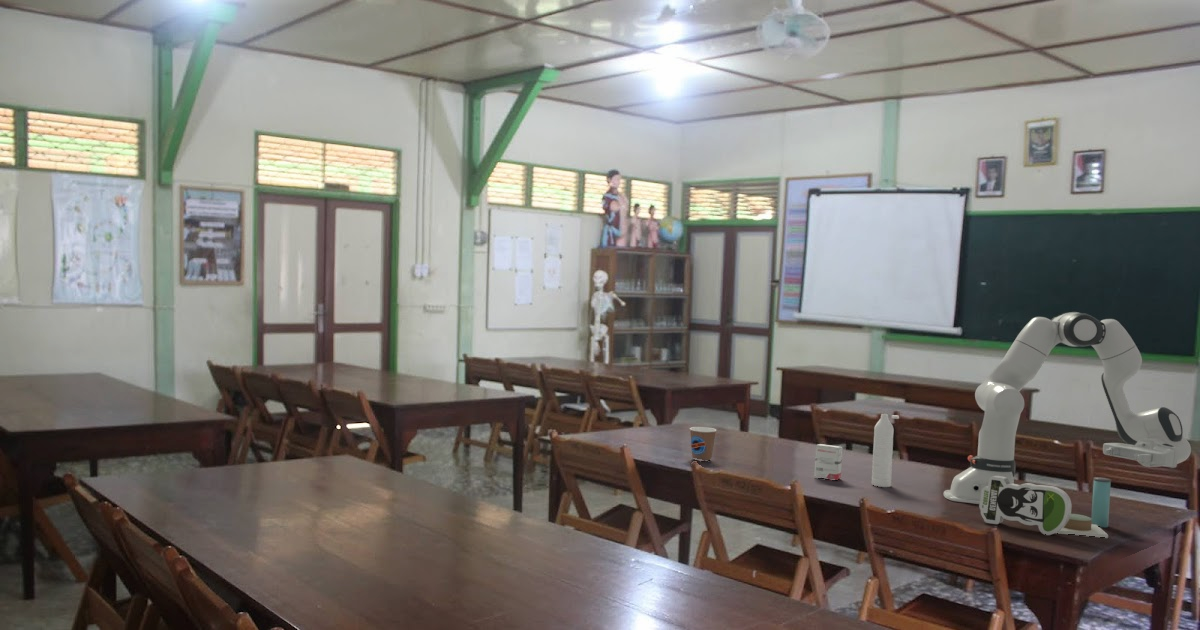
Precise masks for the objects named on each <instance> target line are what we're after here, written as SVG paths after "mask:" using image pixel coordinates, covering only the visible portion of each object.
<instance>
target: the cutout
mask: <svg viewBox="0 0 1200 630" xmlns="http://www.w3.org/2000/svg"><path fill="white" fill-rule="evenodd" d="M978 507H979V510H980V512H979V513H980V515H981V517H982V519H983V522H985V523H986V524H992V525H999V524H1001V523H1003V522H1004V520H1007V521H1012V522H1013V521H1014V522H1015V521H1016V522H1019V523H1021V524H1022V525H1026V526H1029V527H1030V526H1037V528H1038V530H1039V532H1040V533H1041V534H1043V535H1045V534H1046V535H1045V536H1051V535H1054V534H1057V533H1056V532H1058V531H1060V530H1061V529H1062V528H1063V527H1064V526H1065V525H1066V524H1067V523H1068V521H1069V518H1070V515H1071V514H1072V509H1073V508H1072V501H1071V498H1070V496H1069V494H1068V493H1067V492H1066V491H1064V490H1063V489H1062V488H1059V487H1057V486H1054V485H1046V484H1045V485H1043V484H1035V483H1030V482H1027V483H1022V484H1017V483H1014V484H1010V482H1009V480H1008V479H1007V478H1006V477H1003V476H992V477H990V478H989V482H988V486H986V487H984V488H982V490H981V498H980V504H978Z"/></svg>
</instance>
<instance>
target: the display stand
mask: <svg viewBox="0 0 1200 630" xmlns="http://www.w3.org/2000/svg"><path fill="white" fill-rule="evenodd" d="M1057 533H1058V534H1059V535H1068V534H1075V535H1074V536H1079V535H1086V536H1085V537H1089V536H1095V537H1094V538H1100V537H1105V538H1104V539H1108V538H1109V534H1108V533H1107V532H1105V530H1103V528H1102V527H1098V526H1097V525H1096V524H1092V518H1091V517H1089V516H1087V515H1083V514H1078V513H1071V515H1070V518H1069V521H1068V523H1067V524H1066V525H1065V526H1064V527H1063V528H1062V529H1061V530H1060V531H1058V532H1056V533H1055V534H1057Z"/></svg>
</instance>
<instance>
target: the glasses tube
mask: <svg viewBox="0 0 1200 630" xmlns="http://www.w3.org/2000/svg"><path fill="white" fill-rule="evenodd" d="M1092 480H1093V487H1092V504H1091V517H1090V518H1092V524H1096V525H1097V526H1100V528H1108V527H1109V517H1110V499H1111V497H1110V496H1111V482H1112V479H1110V478H1105V477H1102V476H1101V477H1099V476H1095V477H1093V479H1092Z"/></svg>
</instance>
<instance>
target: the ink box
mask: <svg viewBox="0 0 1200 630" xmlns="http://www.w3.org/2000/svg"><path fill="white" fill-rule="evenodd" d="M814 454H815V455H814V471H813V477H814V476H816V477H822V478H828V479H835V480H838V479H840V478H841V479H842V465H843V446H838V445H830V444H823V443H819V444H818V443H817V444H816V445H815V453H814ZM841 479H840V480H841ZM838 481H839V480H838Z"/></svg>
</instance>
